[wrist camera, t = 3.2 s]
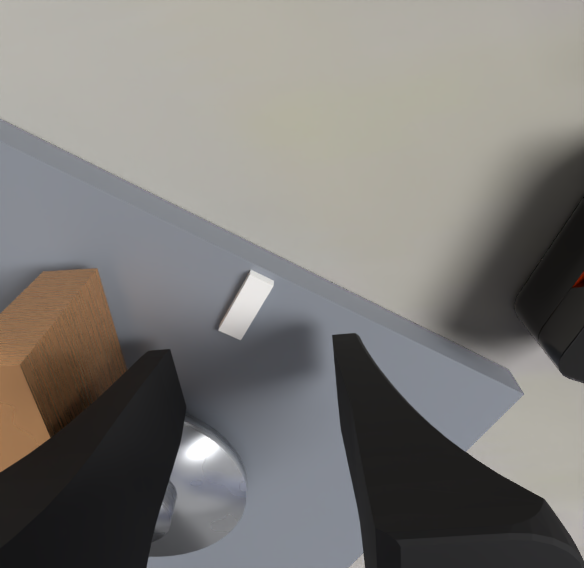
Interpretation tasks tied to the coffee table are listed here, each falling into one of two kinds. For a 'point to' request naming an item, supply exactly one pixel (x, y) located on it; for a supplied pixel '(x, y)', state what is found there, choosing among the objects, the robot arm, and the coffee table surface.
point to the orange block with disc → (92, 384)
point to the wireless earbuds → (559, 299)
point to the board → (237, 346)
